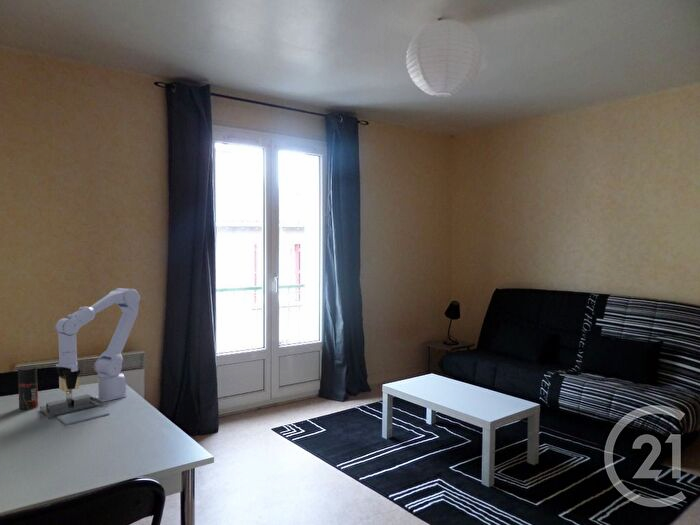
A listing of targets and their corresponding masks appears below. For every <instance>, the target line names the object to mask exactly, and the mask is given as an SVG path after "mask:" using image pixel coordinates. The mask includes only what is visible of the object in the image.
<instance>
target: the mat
mask: <svg viewBox="0 0 700 525" xmlns="http://www.w3.org/2000/svg"><path fill="white" fill-rule="evenodd" d="M106 416H110V412H109V411H107V410H106V409H104V408H102V407H101V406H98V407H95V408H91V409H87V410H82V411H78V412H74V413H70V414H65V415H61V416H57V417H56V418H57V419H58V420H59V421H60V422H61V423H63V425H65V426H69V425H73V424H77V423H80V422H81V423H82V422H85V421H91V420H93V419H97V418H102V417H106Z"/></svg>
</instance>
